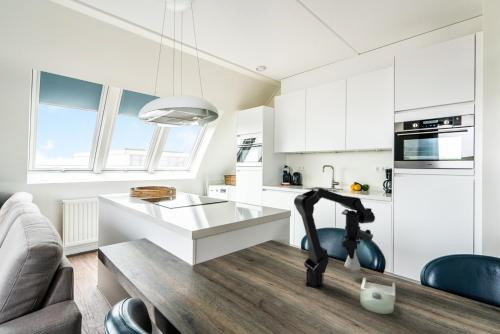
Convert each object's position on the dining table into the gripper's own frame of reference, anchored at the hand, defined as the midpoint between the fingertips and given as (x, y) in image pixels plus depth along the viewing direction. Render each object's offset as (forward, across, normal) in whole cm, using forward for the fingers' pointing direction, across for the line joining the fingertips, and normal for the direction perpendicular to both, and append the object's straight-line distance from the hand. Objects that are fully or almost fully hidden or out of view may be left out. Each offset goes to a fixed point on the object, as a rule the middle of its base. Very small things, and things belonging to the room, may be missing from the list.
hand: (352, 258), depth 117 cm
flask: (+4, 0, 0) cm, 4 cm away
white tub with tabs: (+9, -14, -11) cm, 20 cm away
